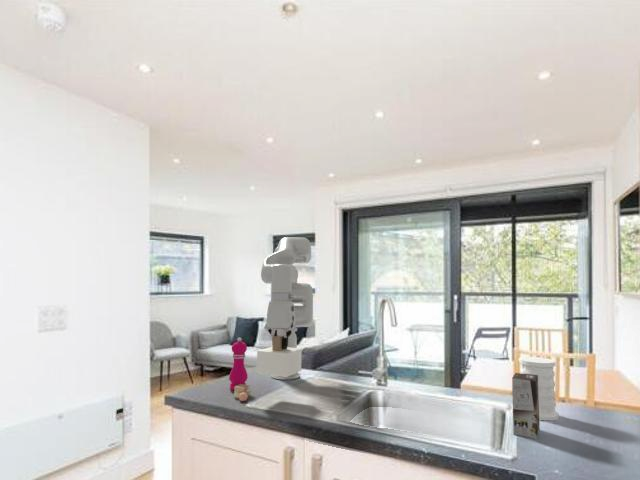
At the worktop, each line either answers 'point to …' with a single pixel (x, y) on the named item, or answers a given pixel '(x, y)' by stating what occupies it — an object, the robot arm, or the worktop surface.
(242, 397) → the terracotta ball
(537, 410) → the coffee box
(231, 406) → the worktop surface
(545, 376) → the decorative container
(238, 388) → the pine cube
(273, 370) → the cover
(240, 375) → the pepper mill
